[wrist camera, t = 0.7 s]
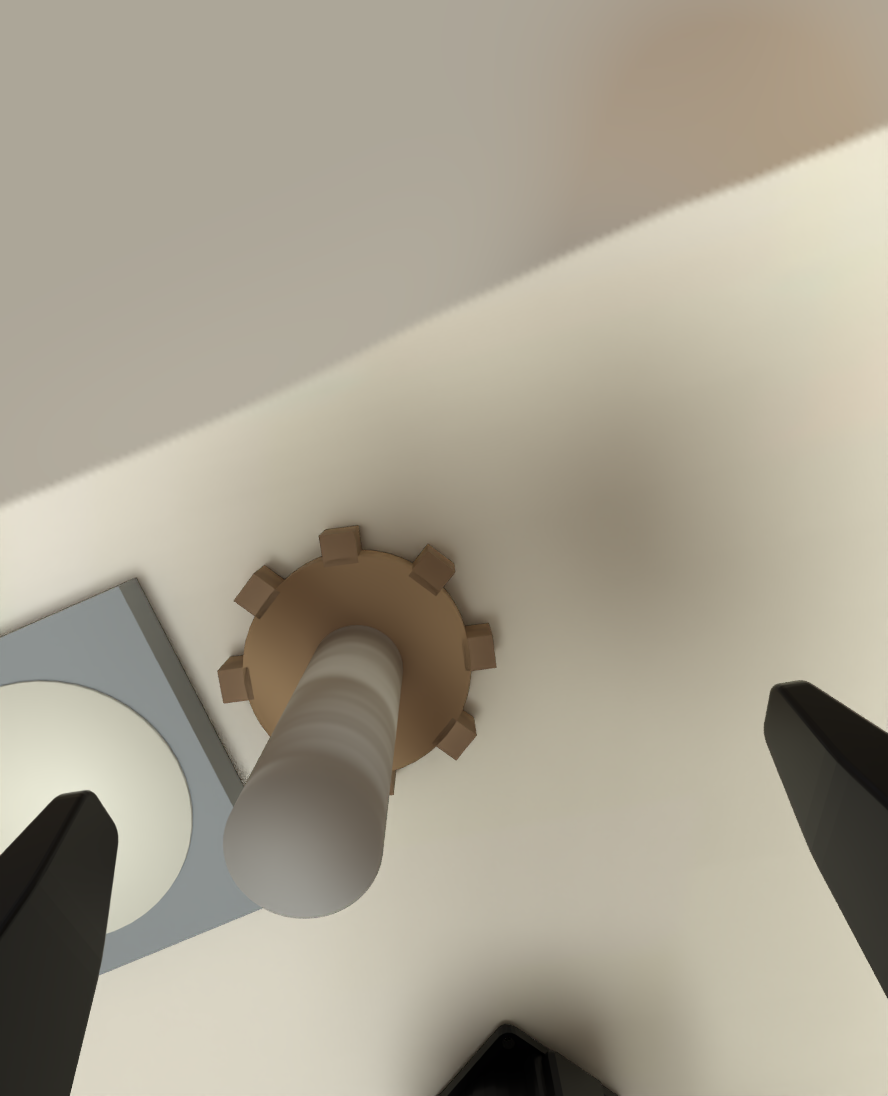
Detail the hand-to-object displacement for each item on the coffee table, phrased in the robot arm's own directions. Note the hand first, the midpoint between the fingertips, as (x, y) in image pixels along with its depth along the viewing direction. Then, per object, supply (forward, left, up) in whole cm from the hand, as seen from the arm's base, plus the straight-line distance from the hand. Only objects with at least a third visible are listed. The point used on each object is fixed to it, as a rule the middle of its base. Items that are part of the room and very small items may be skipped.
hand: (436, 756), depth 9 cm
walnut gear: (-5, 0, -17) cm, 17 cm away
